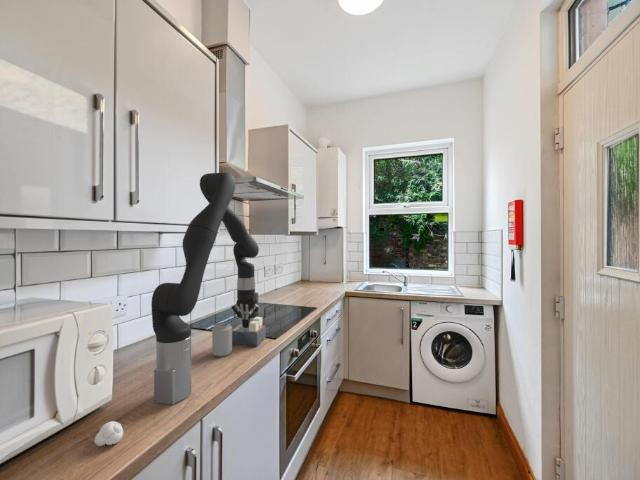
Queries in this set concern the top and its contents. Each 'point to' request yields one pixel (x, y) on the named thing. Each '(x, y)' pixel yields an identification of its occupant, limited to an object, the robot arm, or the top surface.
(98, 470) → the top surface
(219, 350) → the can
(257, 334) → the grey storage bin
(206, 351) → the top surface
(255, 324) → the toggle near
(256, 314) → the post
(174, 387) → the robot arm
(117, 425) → the microfossil shell
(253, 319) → the toggle far
